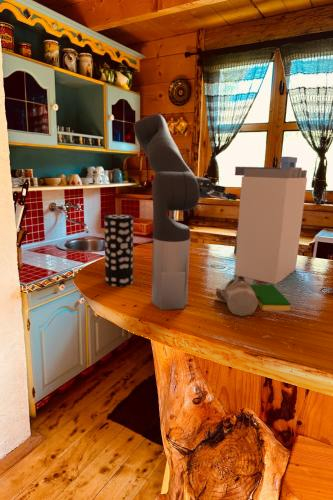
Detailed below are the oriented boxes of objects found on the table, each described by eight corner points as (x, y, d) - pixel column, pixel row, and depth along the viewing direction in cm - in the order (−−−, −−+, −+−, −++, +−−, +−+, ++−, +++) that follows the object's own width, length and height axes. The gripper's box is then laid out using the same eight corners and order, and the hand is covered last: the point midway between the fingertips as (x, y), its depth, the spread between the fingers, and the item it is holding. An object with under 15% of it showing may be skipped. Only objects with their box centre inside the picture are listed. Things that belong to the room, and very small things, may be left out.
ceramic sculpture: (223, 283, 77) (215, 268, 92) (221, 319, 79) (213, 298, 94) (270, 285, 77) (254, 270, 92) (266, 321, 79) (252, 300, 94)
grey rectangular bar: (300, 177, 110) (301, 167, 109) (297, 177, 108) (298, 167, 107) (238, 175, 123) (239, 166, 122) (234, 175, 121) (235, 166, 120)
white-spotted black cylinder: (136, 279, 106) (137, 215, 101) (126, 288, 98) (126, 219, 93) (112, 276, 108) (111, 213, 103) (100, 284, 100) (99, 217, 95)
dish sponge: (262, 311, 85) (263, 303, 85) (247, 291, 99) (248, 284, 98) (290, 312, 85) (291, 303, 85) (271, 292, 99) (272, 284, 98)
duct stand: (295, 269, 120) (309, 157, 111) (275, 284, 104) (289, 155, 95) (258, 262, 128) (268, 157, 119) (234, 274, 113) (243, 155, 103)
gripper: (189, 170, 126) (224, 177, 116) (210, 183, 137) (243, 190, 126) (182, 189, 127) (216, 197, 116) (203, 201, 137) (236, 209, 127)
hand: (230, 194), depth 121 cm, fingers open, 8 cm apart
